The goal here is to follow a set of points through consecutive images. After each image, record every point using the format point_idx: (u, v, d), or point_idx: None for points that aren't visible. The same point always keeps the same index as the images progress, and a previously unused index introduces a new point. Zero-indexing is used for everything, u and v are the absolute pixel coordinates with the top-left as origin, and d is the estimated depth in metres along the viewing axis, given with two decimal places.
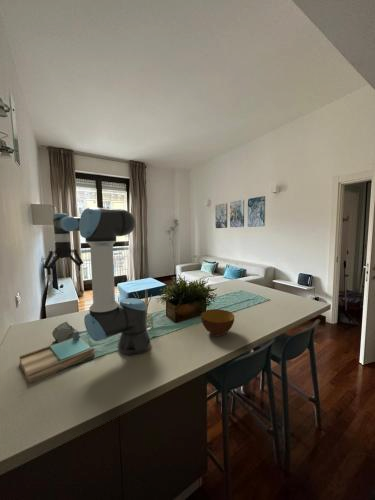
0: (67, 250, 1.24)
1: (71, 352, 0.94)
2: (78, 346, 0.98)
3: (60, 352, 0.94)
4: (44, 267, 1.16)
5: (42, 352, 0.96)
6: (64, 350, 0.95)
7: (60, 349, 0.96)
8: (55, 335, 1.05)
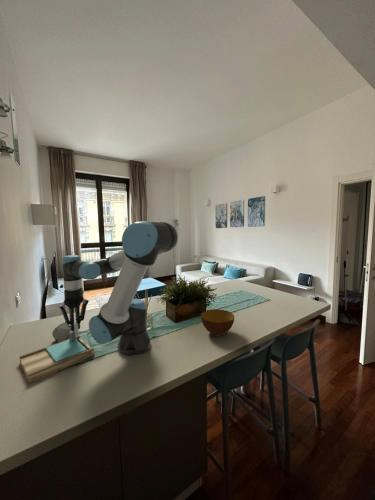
0: (80, 297, 1.04)
1: (67, 353, 0.93)
2: (74, 347, 0.97)
3: (56, 354, 0.93)
4: (68, 324, 1.01)
5: (42, 352, 0.96)
6: (60, 352, 0.94)
7: (56, 351, 0.95)
8: (55, 335, 1.05)
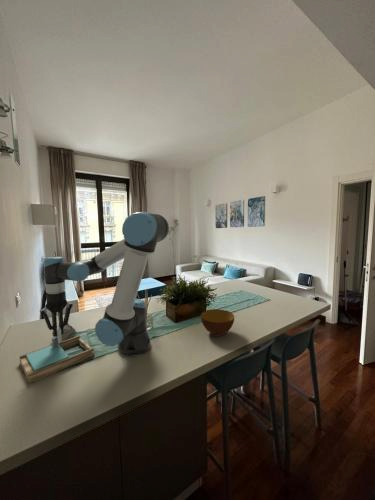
0: (63, 300, 0.98)
1: (47, 361, 0.87)
2: (56, 354, 0.92)
3: (35, 361, 0.87)
4: (50, 329, 0.95)
5: None
6: (41, 359, 0.89)
7: (36, 358, 0.90)
8: None
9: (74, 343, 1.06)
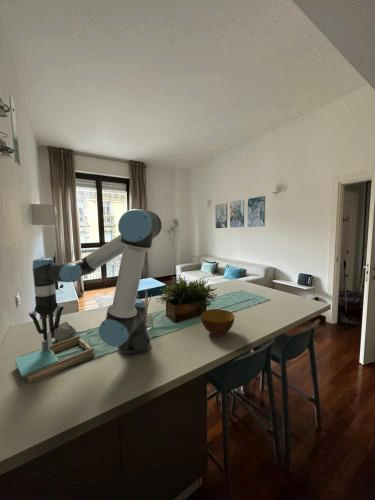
0: (53, 303, 0.95)
1: (36, 366, 0.85)
2: (45, 358, 0.89)
3: (23, 366, 0.84)
4: (39, 333, 0.92)
5: None
6: (29, 364, 0.86)
7: (24, 362, 0.87)
8: (55, 335, 1.05)
9: (74, 343, 1.06)
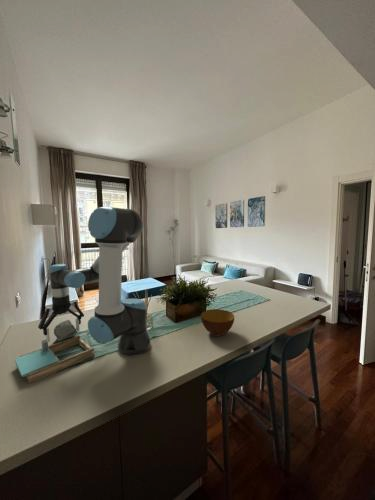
0: (66, 304, 1.10)
1: (36, 366, 0.85)
2: (45, 358, 0.89)
3: (23, 366, 0.84)
4: (39, 328, 1.02)
5: None
6: (29, 364, 0.86)
7: (24, 362, 0.87)
8: (57, 331, 1.06)
9: (74, 343, 1.06)
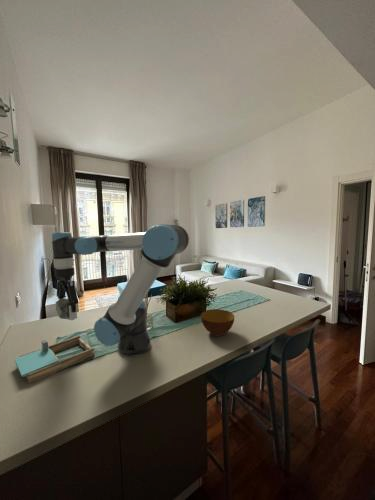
0: (64, 280, 0.94)
1: (36, 366, 0.85)
2: (45, 358, 0.89)
3: (23, 366, 0.84)
4: (56, 295, 1.02)
5: None
6: (29, 364, 0.86)
7: (24, 362, 0.87)
8: (56, 306, 0.98)
9: (74, 343, 1.06)
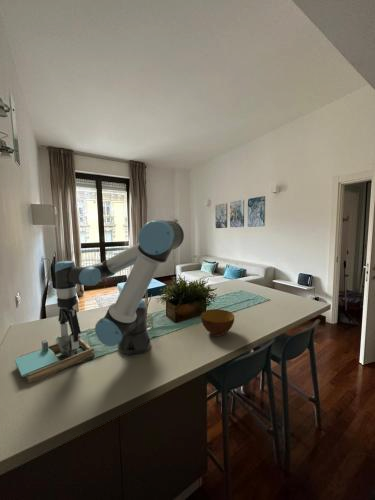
0: (66, 309, 0.94)
1: (36, 366, 0.85)
2: (45, 358, 0.89)
3: (23, 366, 0.84)
4: (58, 320, 1.03)
5: None
6: (29, 364, 0.86)
7: (24, 362, 0.87)
8: (58, 342, 0.99)
9: None
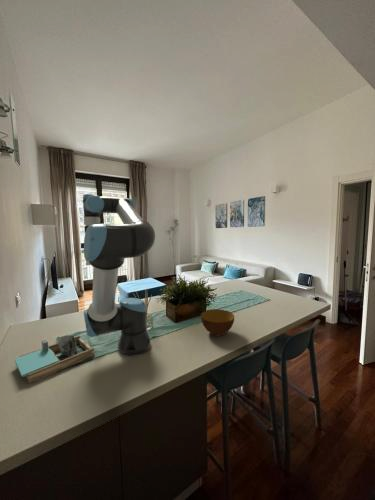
0: None
1: (36, 366, 0.85)
2: (45, 358, 0.89)
3: (23, 366, 0.84)
4: (83, 250, 1.19)
5: None
6: (29, 364, 0.86)
7: (24, 362, 0.87)
8: (58, 342, 0.99)
9: None
